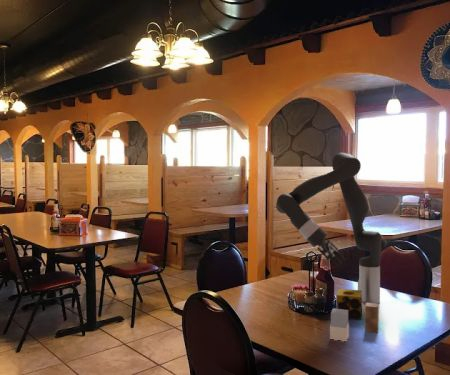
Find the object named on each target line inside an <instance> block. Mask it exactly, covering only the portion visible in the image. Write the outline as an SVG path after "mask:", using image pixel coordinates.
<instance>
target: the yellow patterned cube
mask: <svg viewBox="0 0 450 375" xmlns="http://www.w3.org/2000/svg"><path fill="white" fill-rule="evenodd" d="M336 309H343V310H348V320H359V321H362V318H363V303H362V290H358V289H345V288H338V290H337V293H336Z"/></svg>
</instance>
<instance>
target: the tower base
mask: <svg viewBox="0 0 450 375" xmlns="http://www.w3.org/2000/svg"><path fill="white" fill-rule="evenodd" d="M349 337H350V322H348V325H347V327H346V328H340V327H333V326H331V324H330V325H329V340H330V339H334V340H333V341H337V340H341V341H340V342H344V341H347V342H348V340H349ZM347 339H348V340H347Z"/></svg>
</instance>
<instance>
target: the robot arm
mask: <svg viewBox="0 0 450 375" xmlns="http://www.w3.org/2000/svg"><path fill="white" fill-rule="evenodd" d="M331 167H332V169H333V170H332V171H329V172H327V173H325V174H324V173H323V174H321V175H318V176H314V177H311V178H308V179H307V180H305V181H303V182H302V183H301V184H298V185H297V186H296V187H295V188H294V189H293V190H292V191H291V192H290V193H282V194H280V195H278V197H277V199H276V202H275V203H276V204H275V208H276V210H277V212H279V213H281V214H285V215H286V216H287V217H288V218H289V220H290V223H291V224H292V226H294V227H295V228H296V230H297V231H299V233H300V234H301V236H302V237H303V238H304V239H305V240H306V241H307V242H308V243H309V244H310V245H311V246H312V247H313V248H315V247H317V246H318V247H317V250H318V251H319V252H320V253H321V254H322V255H323V256H324V258H325V259H326V260H329V261H331V262H332V263H333V264H334V265H335V267H337V268H338V267H339V266H340V265H342V262H343V261H345V257H344V256H343V255H342V254H341V253H340V252H339V248H338V247H337V246H336V245H335V244H334V243H333V242H332V241H331V240H330V239H325V238H326V237H327V236H328V234H327V233H326V232H325V231H324V229H323V228H322V227H320V225H319V224H318V223H316V222H315V221H314V220H313V219H312V218H311V217H310V216H309V215H308V214H307V212H305V211H304V210H303V209H302V207H301V204H303V203H304V202H306V201H308V200H309V199H311V198H312V197H315V196H316V195H317V194H319V193H321V192H322V191H324V190H327V189H329V188H331V187H333V186H335V185H337V184H339V188H340V190H341V194H342V196H343V197H342V198H343V201H344V204H345V206H346V207H345V208H346V210H347V213H348V216H349V220H350V223H351V227H352V232H353V237H354V242H355V245H356V247H357V249H359V250H361V251H366V252H369V253H370V254H369V255H368V256H365V257H360V258H359V261H358V263H359V268H358V270H359V274H358V275H359V279H358V280H357V290H362V304H366V303H376V304H379V303H380V302H381V258H382V242H383V241H382V235H381V233H380V232H379V231H371V230H365V229H364V225H363V223H364V221H365V219H366V217H367V215H368V213H369V205H368V200H367V197H366V195H365V192H364V191H363V189H362V187H360V185H359V184H358V182H357V181H356V179H355V176H356V175H358V173H359V172H360V171H361V167H362V166H361V162H360V160H359V159H358V158H357V157H356V156H353V155H351V154H349V153H345V152H338V153H335V155H334V156H333V158H332V163H331Z"/></svg>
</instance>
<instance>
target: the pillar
mask: <svg viewBox="0 0 450 375" xmlns="http://www.w3.org/2000/svg"><path fill="white" fill-rule="evenodd" d="M379 306H380V305H379V303H378V304H376V303H365V305H364V307H365V308H364V309H365V310H364V311H365V312H364V313H365V314H364V319H365V320H364V324H365V325H364V328H365V329H364V331H365V332H367V333H374V334H375V333H377V334H378V333H379V321H380V320H379V313H380V312H379V308H380V307H379Z"/></svg>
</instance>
